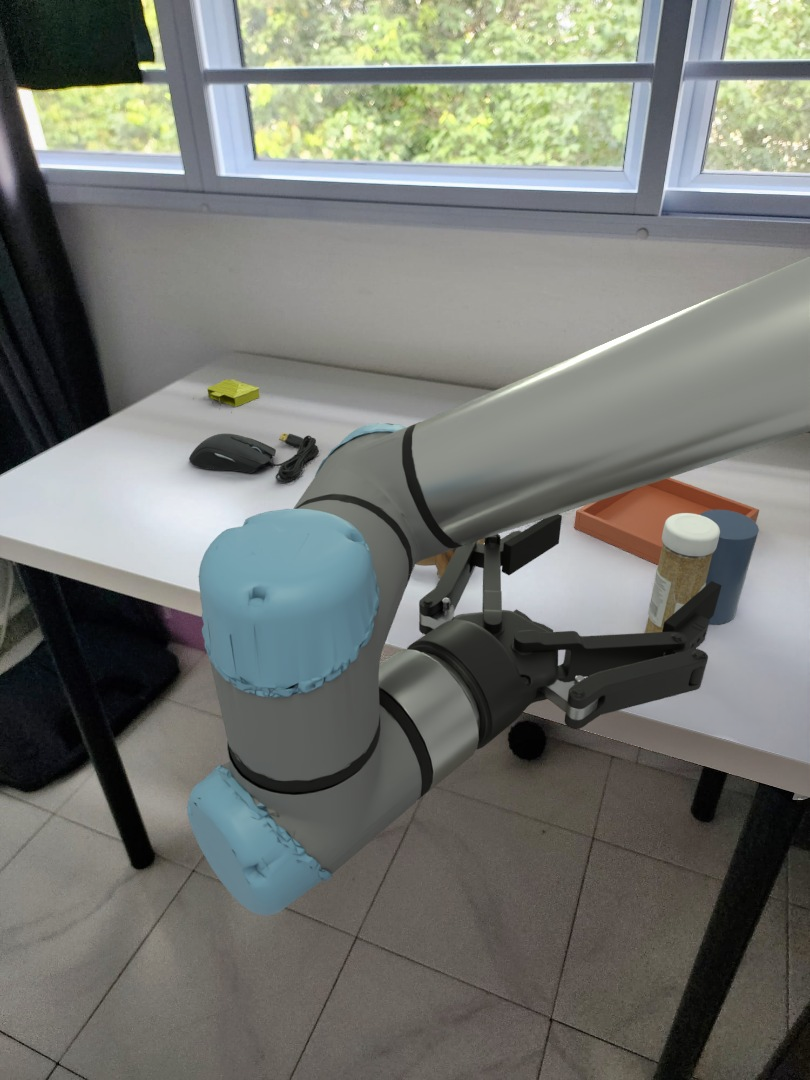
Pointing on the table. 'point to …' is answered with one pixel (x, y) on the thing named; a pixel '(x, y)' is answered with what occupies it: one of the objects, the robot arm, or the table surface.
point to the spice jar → (681, 565)
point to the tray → (649, 515)
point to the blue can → (730, 560)
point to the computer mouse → (251, 454)
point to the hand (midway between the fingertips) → (629, 560)
